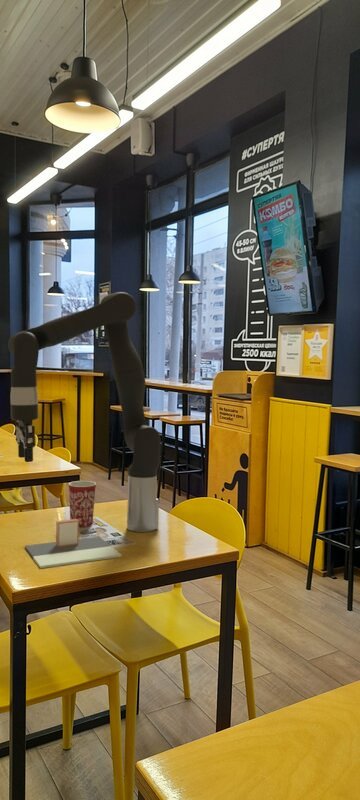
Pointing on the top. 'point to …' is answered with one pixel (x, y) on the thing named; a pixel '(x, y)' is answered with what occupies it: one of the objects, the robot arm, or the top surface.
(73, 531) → the tile
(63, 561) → the mat
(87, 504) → the mug
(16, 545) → the top surface
